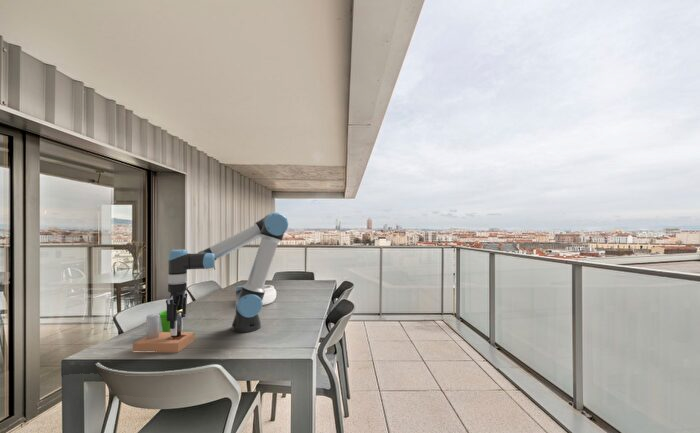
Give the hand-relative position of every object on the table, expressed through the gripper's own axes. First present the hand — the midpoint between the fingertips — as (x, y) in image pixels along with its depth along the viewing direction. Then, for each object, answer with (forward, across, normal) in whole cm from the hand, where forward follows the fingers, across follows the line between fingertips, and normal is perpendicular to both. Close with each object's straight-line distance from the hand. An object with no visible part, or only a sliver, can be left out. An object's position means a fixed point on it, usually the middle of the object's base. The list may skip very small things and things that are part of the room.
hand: (176, 333), depth 138 cm
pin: (+1, 0, 0) cm, 1 cm away
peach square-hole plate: (+6, 0, -5) cm, 8 cm away
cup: (+6, -16, -13) cm, 21 cm away
